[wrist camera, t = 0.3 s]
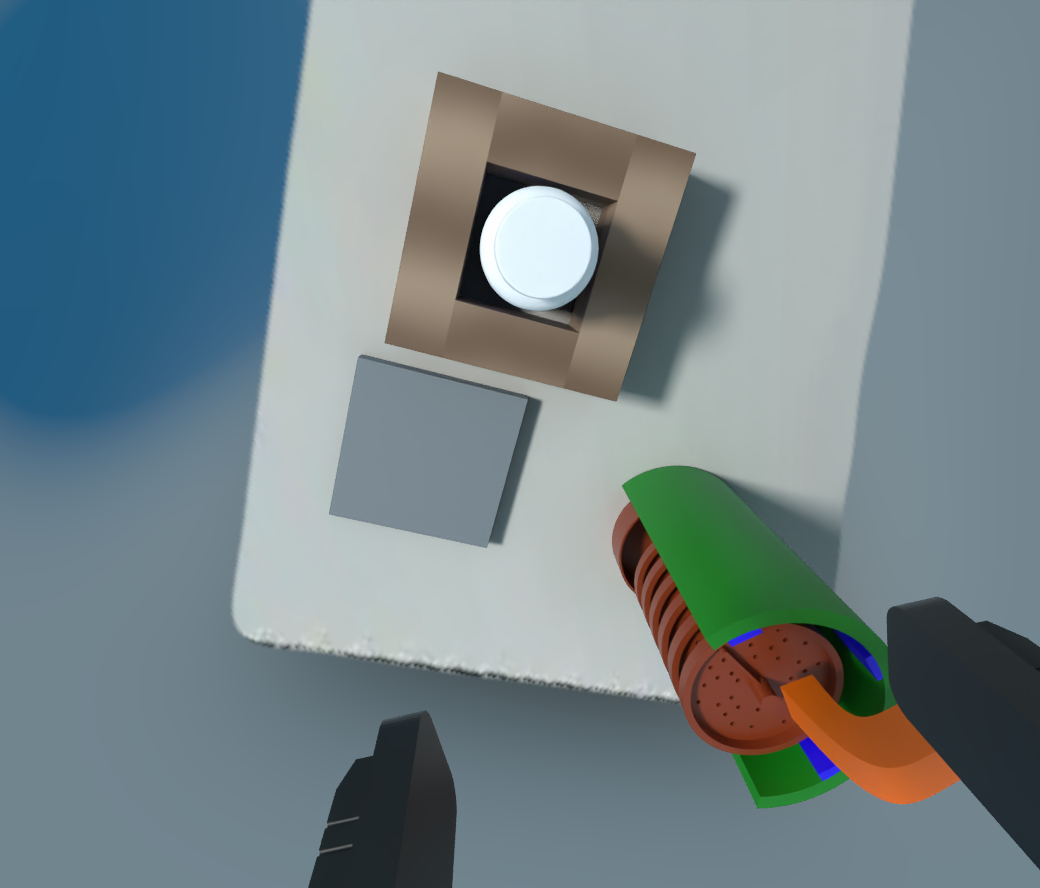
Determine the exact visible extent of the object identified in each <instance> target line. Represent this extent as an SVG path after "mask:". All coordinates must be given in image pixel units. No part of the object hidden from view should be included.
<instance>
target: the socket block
mask: <svg viewBox="0 0 1040 888" xmlns="http://www.w3.org/2000/svg"><path fill="white" fill-rule="evenodd" d="M695 156H696V153H693V152H690V151H687V150H684V149H681V148H678V147H674V146H671V145H668V144H665V143H662V142H659V141H656V140H652V139H649V138H646V137H643V136H640V135H637V134H633V133H630V132H627V131H624V130H621V129H618V128H615V127H611V126H608V125H605V124H602V123H599V122H596V121H593V120H589V119H586V118H583V117H580V116H577V115H574V114H570V113H567V112H564V111H561V110H558V109H555V108H552V107H548V106H545V105H542V104H539V103H536V102H533V101H529V100H526V99H523V98H520V97H517V96H514V95H511V94H507V93H504V92H501V91H498V90H495V89H492V88H488V87H485V86H482V85H479V84H476V83H473V82H470V81H466V80H463V79H460V78H457V77H454V76H451V75H448V74H444V73H441V72H438V75H437V80H436V85H435V90H434V95H433V100H432V105H431V110H430V115H429V120H428V125H427V130H426V136H425V141H424V146H423V151H422V156H421V161H420V166H419V171H418V176H417V181H416V186H415V191H414V197H413V202H412V207H411V212H410V217H409V222H408V227H407V232H406V237H405V242H404V247H403V252H402V258H401V263H400V268H399V273H398V278H397V283H396V288H395V293H394V298H393V303H392V308H391V313H390V319H389V324H388V329H387V334H386V339H385V343H387V344H391V345H395V346H399V347H403V348H407V349H411V350H415V351H418V352H422V353H426V354H430V355H434V356H438V357H442V358H446V359H450V360H454V361H458V362H462V363H466V364H470V365H474V366H478V367H482V368H486V369H490V370H494V371H497V372H501V373H505V374H509V375H513V376H517V377H521V378H525V379H529V380H533V381H537V382H541V383H545V384H549V385H553V386H557V387H561V388H565V389H569V390H573V391H577V392H580V393H584V394H588V395H592V396H596V397H600V398H604V399H608V400H612V401H617V398H618V395H619V392H620V389H621V386H622V383H623V380H624V376H625V373H626V370H627V367H628V364H629V361H630V358H631V355H632V352H633V348H634V345H635V342H636V339H637V336H638V333H639V330H640V327H641V324H642V320H643V317H644V314H645V311H646V308H647V305H648V302H649V299H650V296H651V292H652V289H653V286H654V283H655V280H656V277H657V274H658V271H659V268H660V265H661V261H662V258H663V255H664V252H665V249H666V246H667V243H668V240H669V237H670V233H671V230H672V227H673V224H674V221H675V218H676V215H677V212H678V209H679V205H680V202H681V199H682V196H683V193H684V190H685V187H686V184H687V181H688V177H689V174H690V171H691V168H692V165H693V162H694V159H695ZM487 173H488V174H491V175H494V176H498V177H501V178H504V179H508V180H511V181H515V182H518V183H521V184H525V185H528V186H546V187H553V188H557V189H560V190H562V191H564V192H566V193H568V194H570V195H571V196H573V197H574V198H575V199H577V200H578V201H582V202H585V203H588V204H592V205H595V206H599V207H602V212H601V215H600V219H599V222H598V226H597V229H596V232H597V236H598V248H599V250H598V258H597V263H596V267H595V270H594V273H593V275H592V277H591V279H590V281H589V283H588V284H587V285H586V287H585V288H584V289H583V291H582V292H581V293H580V294H579V295H578V296H577V299H576V303H575V306H574V310H573V313H572V317H571V320H570V324H569V325H568V324H564V323H560V322H557V321H553V320H549V319H545V318H542V317H538V316H534V315H530V314H527V313H523V312H519V311H515V310H512V309H508V308H504V307H501V306H497V305H493V304H489V303H486V302H482V301H478V300H474V299H471V298H467V297H463V296H460V295H459V292H460V288H461V284H462V279H463V275H464V270H465V266H466V262H467V257H468V253H469V249H470V244H471V240H472V235H473V231H474V227H475V222H476V218H477V213H478V209H479V205H480V200H481V196H482V192H483V187H484V183H485V178H486V174H487Z"/></svg>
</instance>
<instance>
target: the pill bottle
mask: <svg viewBox="0 0 1040 888" xmlns="http://www.w3.org/2000/svg"><path fill="white" fill-rule="evenodd" d="M598 250H599V248H598V236H597V232H596V228H595V225H594V223H593V221H592V218H591V217H590V215H589V213H588V212H587V210H586V209H585V208H584V206H583V205H582V204H581V203H580V202H579V201H578V200H577V199H575V198H574V197H573V196H571V195H570V194H568V193H566V192H564V191H562V190H560V189H557V188H553V187H546V186H530V187H526V188H522V189H519V190H517V191H514V192H513V193H511V194H509V195H508V196H506V197H505V198H504V199H502V200H501V201H500V202H499V203H498V204H497V205H496V206H495V208H494V209H493V210H492V212H491V213H490V215H489V216H488V218H487V220H486V222H485V225H484V228H483V231H482V235H481V240H480V257H481V263H482V267H483V270H484V273H485V275H486V277H487V280H488V281H489V283H490V285H491V286H492V288H493V289H494V290H495V291H496V292H497V293H498V294H499V295H500V296H501V297H502V298H503V299H504V300H506V301H507V302H509V303H511V304H512V305H515V306H517V307H519V308H522V309H527V310H533V311H545V310H551V309H555V308H558V307H561V306H563V305H565V304H567V303H568V302H570V301H571V300H573V299H574V298H575V297H577V296H578V295H579V294H580V293H581V292H582V291H583V289H584V288H585V287H586V285H587V284H588V283H589V281H590V279H591V277H592V275H593V273H594V270H595V267H596V263H597V258H598Z"/></svg>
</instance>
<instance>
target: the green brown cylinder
mask: <svg viewBox="0 0 1040 888" xmlns="http://www.w3.org/2000/svg"><path fill="white" fill-rule="evenodd" d="M622 487H623V488H624V490H625V492H626V494H627V496H628V498H629V499H630V501H631V502H630V503H629V504H628V505H627V506H626V507H625V508H624V509H623V511H622V512H621V514H620V515H619V517H618V519H617V521H616V524H615V526H614V530H613V536H612V547H613V552H614V555H615V558H616V561H617V563H618V566H619V568H620V571H621V573H622V576H623V578H624V580H625V582H626V584H627V585H628V586H629V588H630V589H631V590H632V591H633V592H634V593H635V594H636V596H637V599H638V601H639V603H640V606H641V608H642V610H643V613H644V616H645V618H646V621H647V623H648V625H649V627H650V629H651V632H652V635H653V638H654V640H655V642H656V645H657V647H658V649H659V651H660V654H661V657H662V659H663V662H664V664H665V667H666V669H667V671H668V672H669V676H670V679H671V681H672V684H673V686H674V689H675V691H676V693H677V695H678V697H679V699H680V702H681V706H682V708H683V710H684V713H685V715H686V718H687V720H688V722H689V724H690V726H691V727H692V729H693V730H694V732H695V733H696V734H697V735H698V736H699V737H700V738H701V739H702V740H704V741H705V742H706V743H708V744H710V745H711V746H713V747H715V748H717V749H720V750H722V751H726V752H729V753H732V755H733V757H734V759H735V761H736V763H737V766H738V767H739V770H740V772H741V774H742V776H743V778H744V780H745V783H746V785H747V787H748V789H749V791H750V793H751V795H752V797H753V799H754V801H755V804H756V806H757V808H773V807H780V806H786V805H791V804H794V803H798V802H802V801H805V800H808V799H811V798H814V797H816V796H819V795H821V794H823V793H825V792H827V791H829V790H831V789H833V788H835V787H837V786H838V785H840V784H842V783H843V782H845V781H846V780H848V779H849V778H850V779H851V780H852V781H854V782H855V783H856V784H857V785H859V786H860V787H861V788H863V789H864V790H866V791H867V792H869V793H870V794H872V795H874V796H876V797H878V798H880V799H882V800H885V801H888V802H891V803H896V804H909V803H915V802H918V801H921V800H924V799H926V798H928V797H930V796H932V795H934V794H936V793H938V792H940V791H942V790H943V789H945V788H947V787H949V786H950V785H952V784H954V783H955V782H957V781H959V780H960V778H959V777H958V776H957V775H956V774H955V773H954V772H953V770H952V769H951V768H950V767H949V766H948V765H947V764H946V762H945V761H944V760H943V759H942V758H941V757H940V756H939V755H938V753H937V752H936V751H935V750H934V749H933V748H932V747H931V745H930V744H929V743H928V742H927V741H926V740H925V739H924V737H923V736H922V735H921V734H920V733H919V732H918V731H917V729H916V728H915V727H914V726H913V725H912V724H911V723H910V722H909V720H908V719H907V718H906V717H905V715H904V714H903V712H902V711H901V709H900V708H899V706H898V704H897V702H896V700H895V698H894V696H893V693H892V691H891V687H890V683H889V676H888V647H887V646H886V645H885V643H884V642H883V641H882V640H881V639H880V638H879V637H878V636H877V635H876V634H875V633H874V632H873V631H872V630H871V629H870V628H869V627H868V626H867V625H866V624H865V623H864V622H863V621H862V620H861V619H860V618H859V617H858V616H857V615H856V614H855V613H854V612H853V611H852V610H851V609H850V608H849V607H848V606H847V605H846V604H845V603H844V602H843V601H842V600H841V599H840V598H839V597H838V596H837V595H836V594H835V593H834V592H833V591H832V590H831V589H830V588H829V587H828V586H827V585H826V584H825V583H824V582H823V581H822V580H821V579H820V578H819V577H818V576H817V575H816V574H815V573H814V572H813V571H812V570H811V569H810V568H809V567H808V566H807V565H806V564H805V563H804V562H803V561H802V560H801V559H800V558H799V557H798V556H797V555H796V554H795V553H794V552H793V551H792V550H791V549H790V548H789V547H788V546H787V545H786V544H785V543H784V542H783V541H782V540H781V539H780V538H779V537H778V536H777V535H776V533H775V532H774V531H773V530H772V529H771V528H770V527H769V526H768V525H767V524H766V523H765V522H764V521H763V520H762V519H761V518H760V517H759V516H758V515H757V514H756V513H755V512H754V511H753V510H752V509H751V508H750V507H749V506H748V505H747V504H746V503H745V502H744V501H743V500H742V499H741V498H740V497H739V496H738V495H737V494H736V493H735V492H734V491H733V490H732V489H731V488H730V487H729V486H728V485H727V484H726V483H724V482H723V481H722V480H721V479H719V478H718V477H716V476H715V475H713V474H711V473H709V472H706V471H704V470H701V469H697V468H693V467H687V466H667V467H661V468H656V469H653V470H649V471H647V472H644V473H642V474H640V475H638V476H636V477H634V478H632V479H630V480H629V481H627V482H626V483H625V484H623V485H622Z"/></svg>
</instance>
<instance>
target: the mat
mask: <svg viewBox="0 0 1040 888" xmlns="http://www.w3.org/2000/svg"><path fill="white" fill-rule="evenodd" d="M527 401H528V398H527V396H526V395H522V394H518V393H514V392H510V391H506V390H502V389H498V388H494V387H490V386H486V385H482V384H478V383H474V382H470V381H466V380H462V379H458V378H454V377H450V376H446V375H442V374H438V373H434V372H430V371H426V370H422V369H418V368H414V367H410V366H406V365H402V364H398V363H394V362H390V361H386V360H382V359H378V358H374V357H370V356H366V355H360V356H359V357H358V360H357V365H356V371H355V376H354V382H353V387H352V392H351V398H350V403H349V409H348V414H347V419H346V425H345V430H344V436H343V441H342V447H341V452H340V457H339V463H338V468H337V474H336V479H335V484H334V490H333V495H332V501H331V506H330V511H329V514H330V515H334V516H339V517H344V518H348V519H353V520H358V521H363V522H367V523H372V524H377V525H381V526H386V527H391V528H396V529H400V530H405V531H410V532H414V533H419V534H424V535H429V536H433V537H438V538H443V539H447V540H452V541H457V542H461V543H466V544H471V545H476V546H480V547H485V548H487V546H488V542H489V539H490V535H491V531H492V528H493V524H494V521H495V517H496V513H497V510H498V506H499V502H500V499H501V495H502V492H503V488H504V484H505V481H506V477H507V474H508V470H509V466H510V463H511V459H512V455H513V452H514V448H515V445H516V441H517V437H518V434H519V430H520V426H521V423H522V419H523V416H524V412H525V408H526V405H527Z"/></svg>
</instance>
